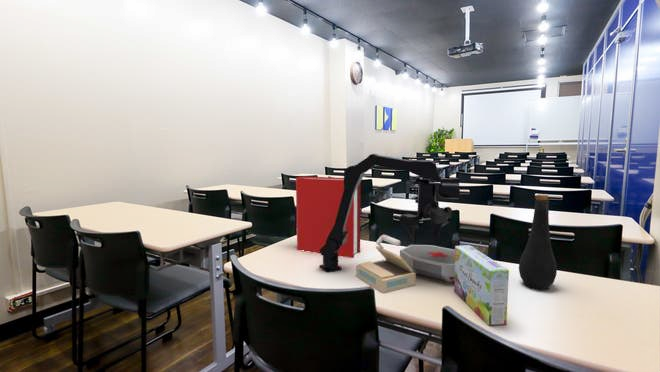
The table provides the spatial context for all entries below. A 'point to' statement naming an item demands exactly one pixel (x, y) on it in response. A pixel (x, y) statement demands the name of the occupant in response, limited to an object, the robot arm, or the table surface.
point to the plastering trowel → (391, 256)
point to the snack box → (482, 284)
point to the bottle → (539, 250)
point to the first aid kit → (431, 261)
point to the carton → (385, 275)
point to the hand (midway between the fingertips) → (424, 242)
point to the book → (324, 214)
